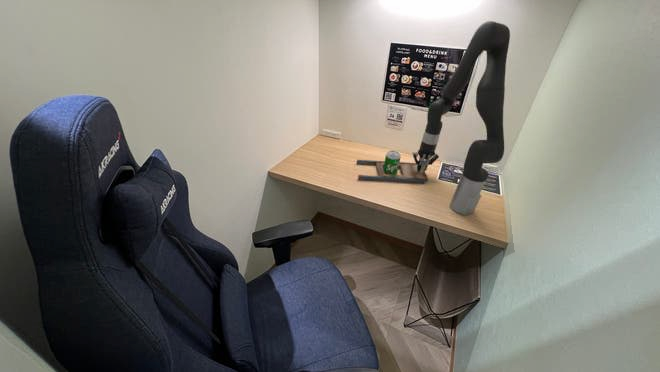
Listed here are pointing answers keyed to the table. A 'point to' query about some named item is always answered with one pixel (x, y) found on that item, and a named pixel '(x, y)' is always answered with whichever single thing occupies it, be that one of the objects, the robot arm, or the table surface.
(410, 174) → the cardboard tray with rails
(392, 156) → the soda can
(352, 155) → the table surface
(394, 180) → the lane rails
